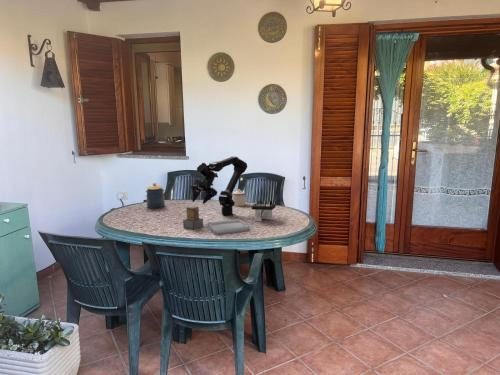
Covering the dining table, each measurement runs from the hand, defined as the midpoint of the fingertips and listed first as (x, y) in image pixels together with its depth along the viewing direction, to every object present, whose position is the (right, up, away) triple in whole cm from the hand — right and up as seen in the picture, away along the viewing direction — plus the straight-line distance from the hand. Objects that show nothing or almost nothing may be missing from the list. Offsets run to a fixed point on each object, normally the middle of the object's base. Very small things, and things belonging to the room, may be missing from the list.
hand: (198, 202), depth 233 cm
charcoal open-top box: (-2, -14, -6) cm, 15 cm away
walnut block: (-2, -14, -6) cm, 15 cm away
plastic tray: (+19, -15, -11) cm, 26 cm away
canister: (-37, -5, +48) cm, 61 cm away
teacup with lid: (+22, -4, +50) cm, 55 cm away
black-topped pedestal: (+40, -12, +6) cm, 43 cm away
